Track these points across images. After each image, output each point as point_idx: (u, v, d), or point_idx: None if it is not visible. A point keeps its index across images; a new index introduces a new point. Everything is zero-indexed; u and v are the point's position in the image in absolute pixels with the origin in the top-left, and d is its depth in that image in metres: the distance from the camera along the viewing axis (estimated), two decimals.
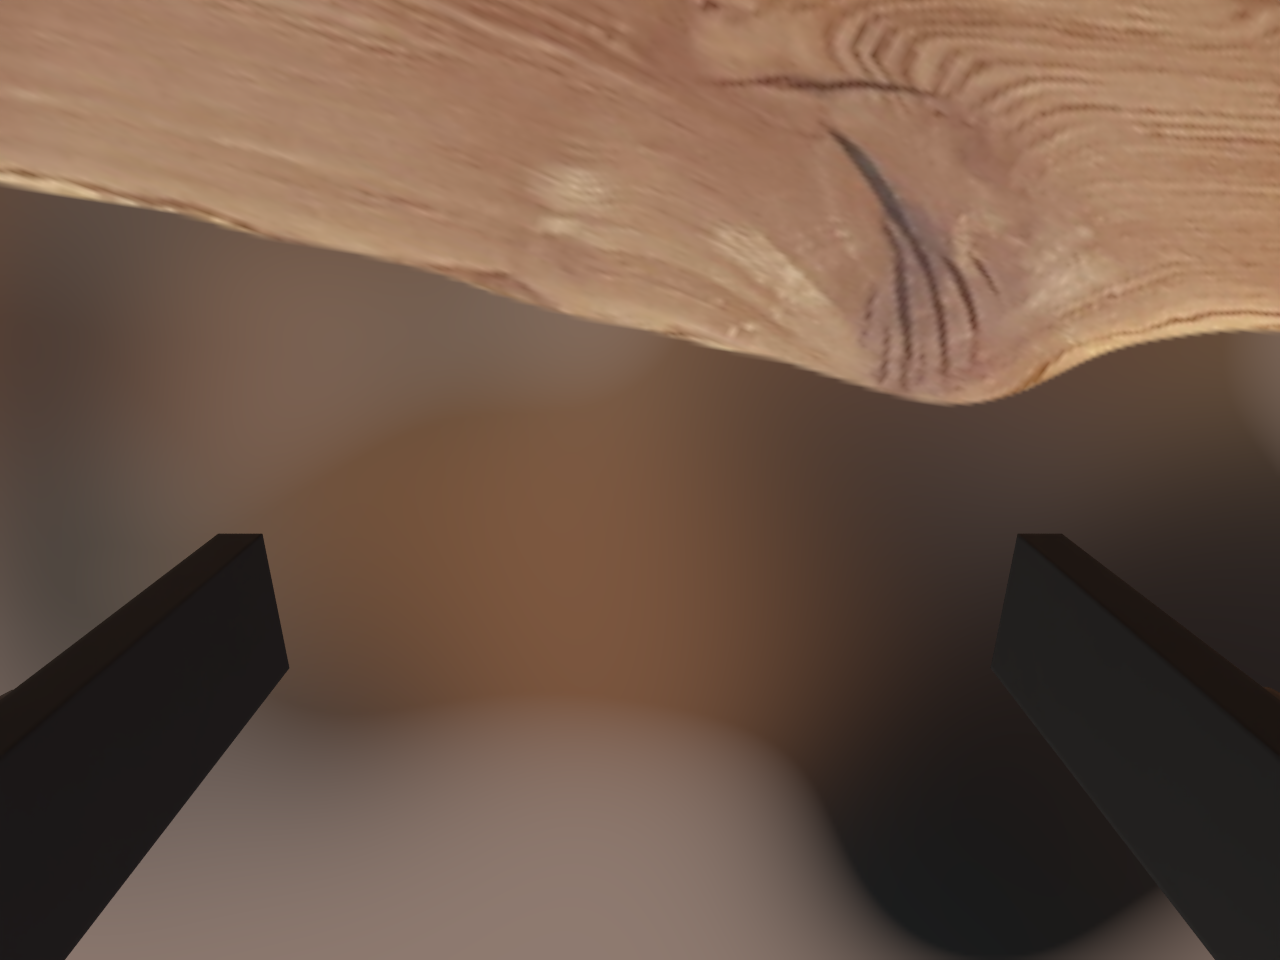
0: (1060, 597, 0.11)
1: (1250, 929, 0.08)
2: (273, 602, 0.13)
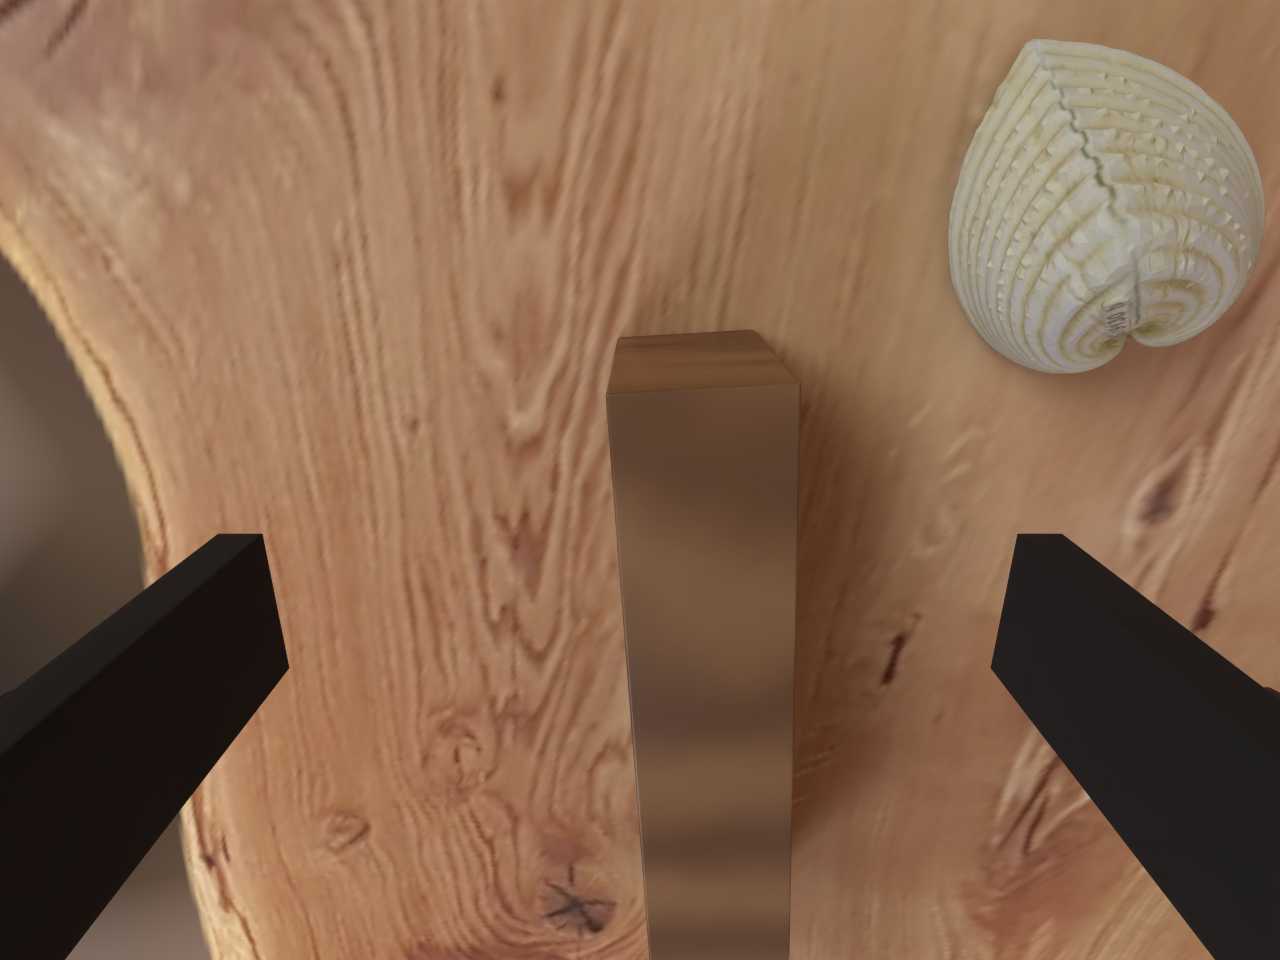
0: (1061, 597, 0.11)
1: (1250, 929, 0.08)
2: (272, 602, 0.13)
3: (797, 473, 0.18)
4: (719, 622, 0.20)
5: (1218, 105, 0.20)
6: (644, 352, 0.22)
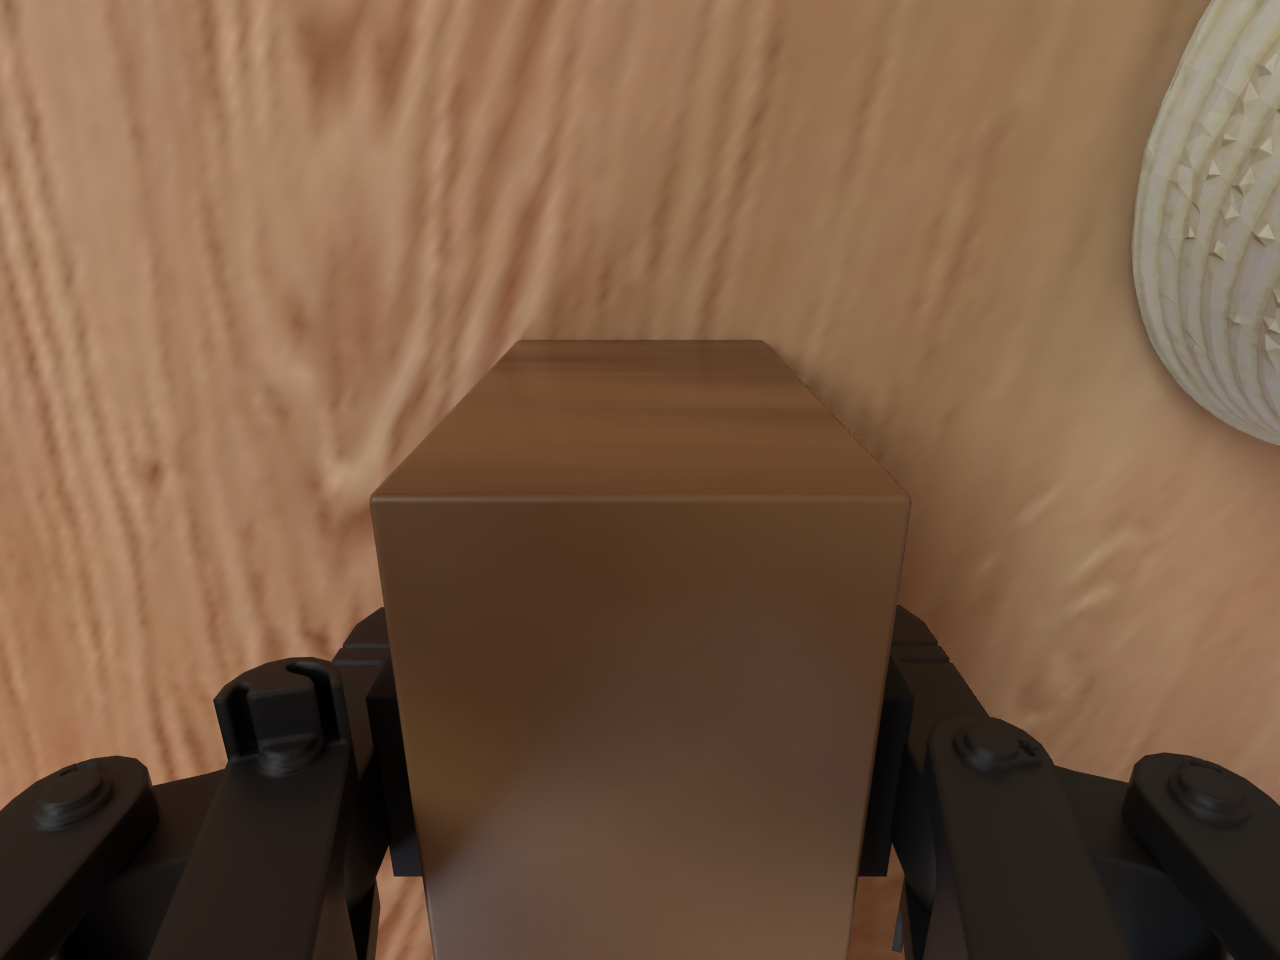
0: None
1: None
2: None
3: (877, 717, 0.07)
4: None
5: None
6: (546, 373, 0.11)
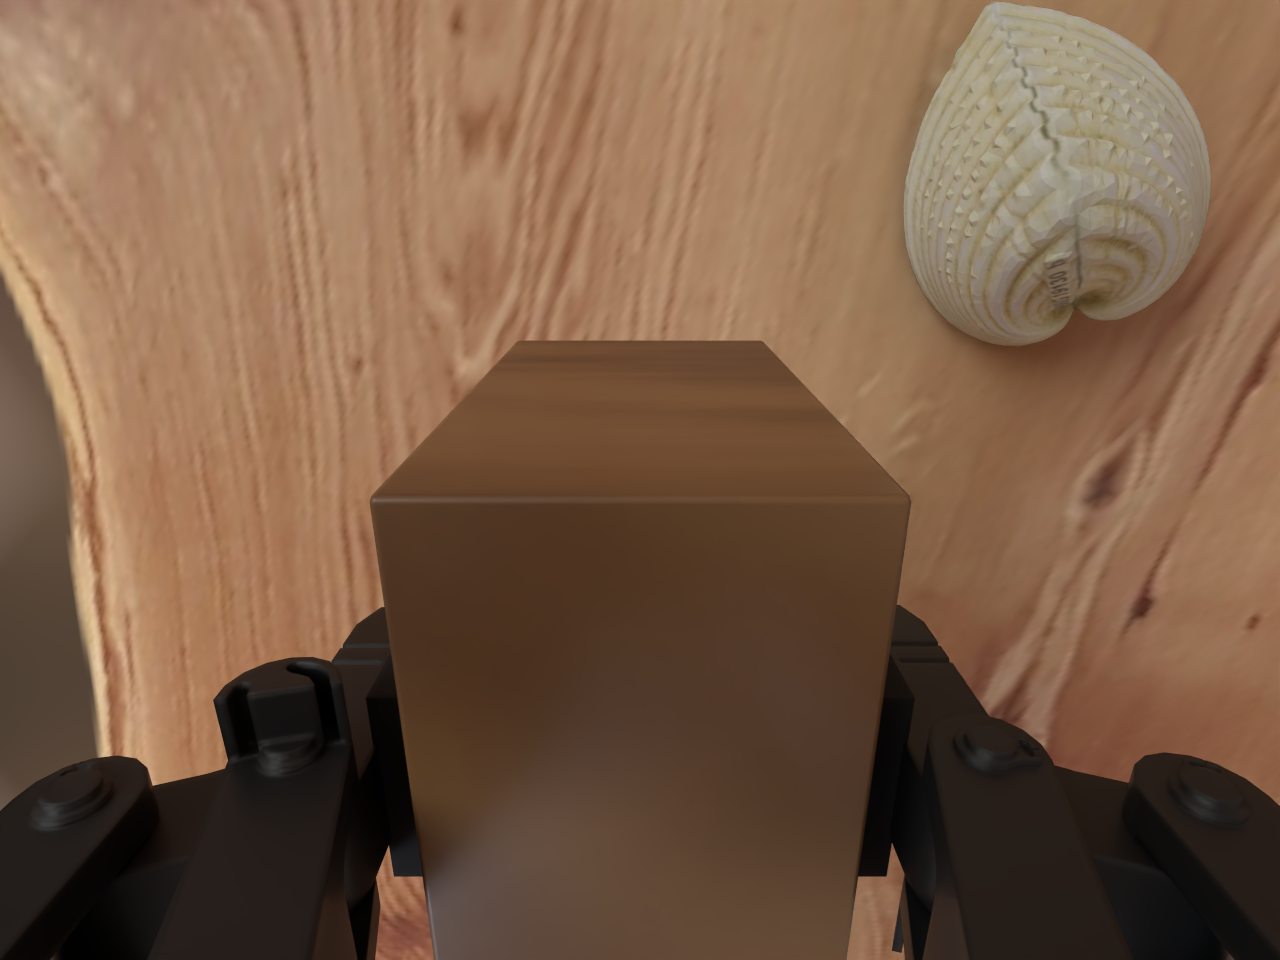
0: None
1: None
2: None
3: (877, 718, 0.07)
4: None
5: (1169, 77, 0.20)
6: (546, 373, 0.11)
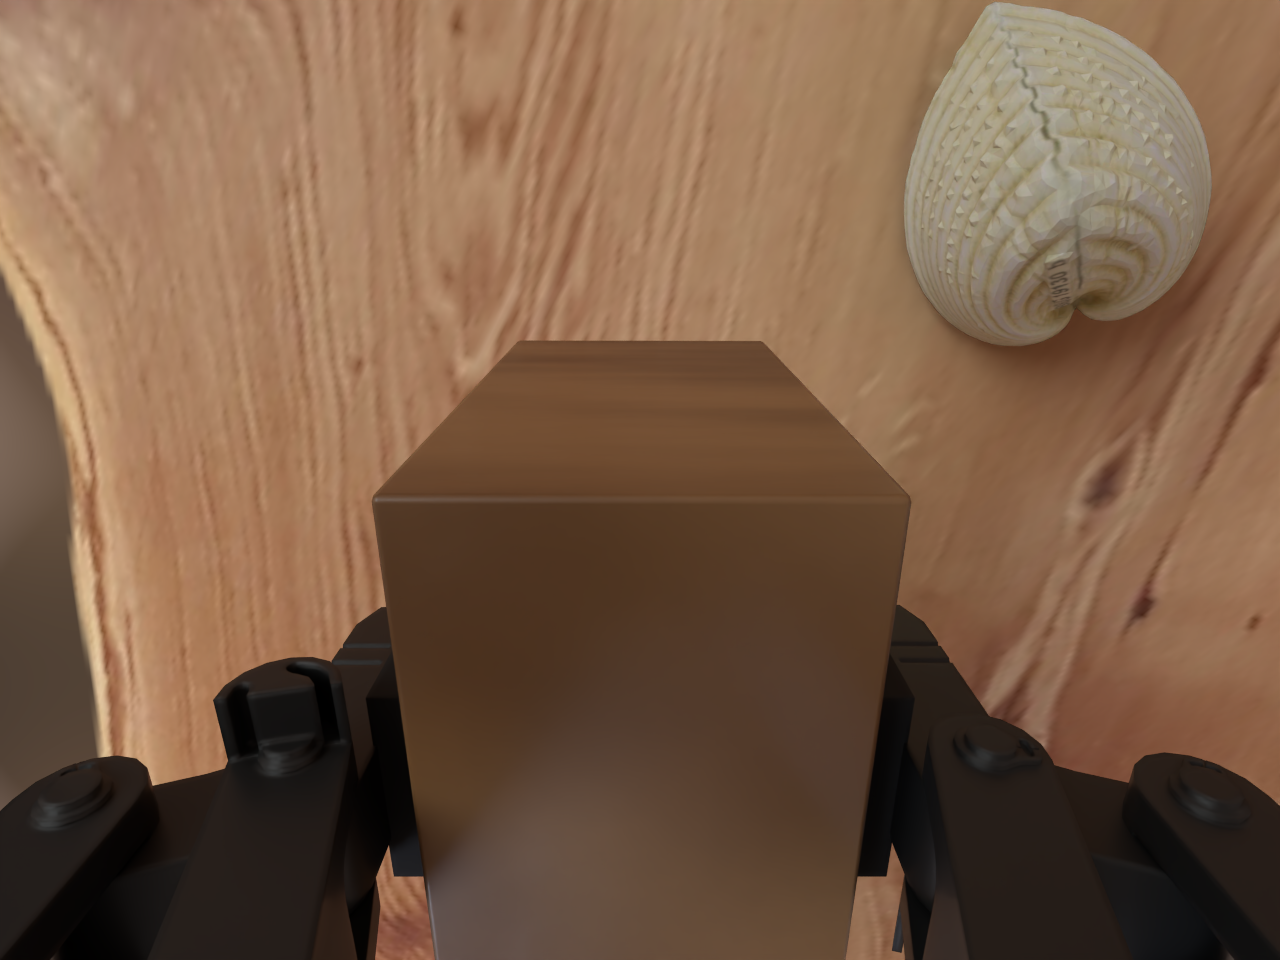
0: None
1: None
2: None
3: (877, 717, 0.07)
4: None
5: (1170, 77, 0.20)
6: (547, 373, 0.11)
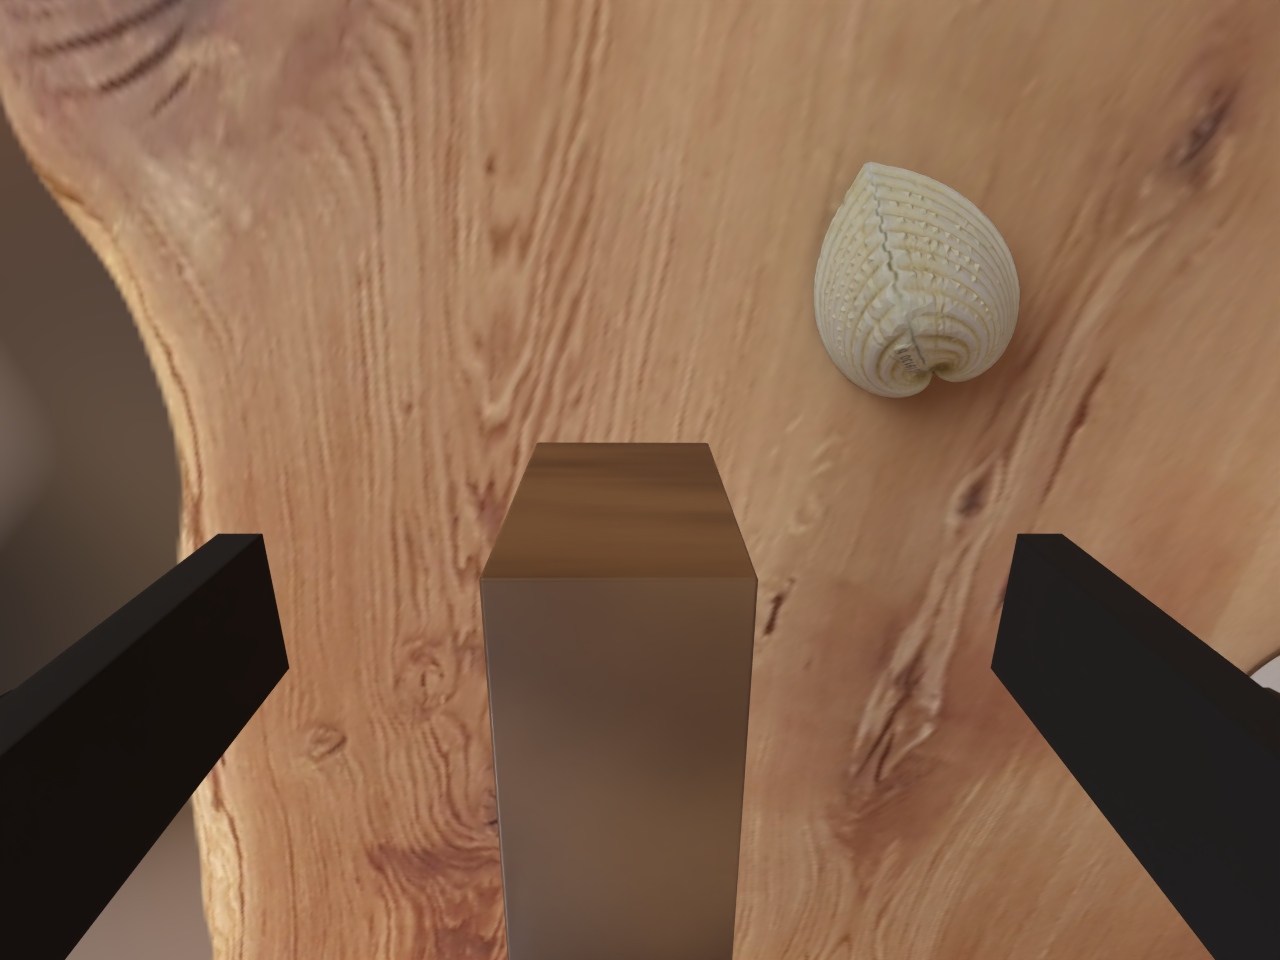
0: (1060, 597, 0.11)
1: (1250, 929, 0.08)
2: (272, 601, 0.13)
3: (747, 693, 0.13)
4: (632, 873, 0.14)
5: (986, 219, 0.29)
6: (560, 478, 0.17)
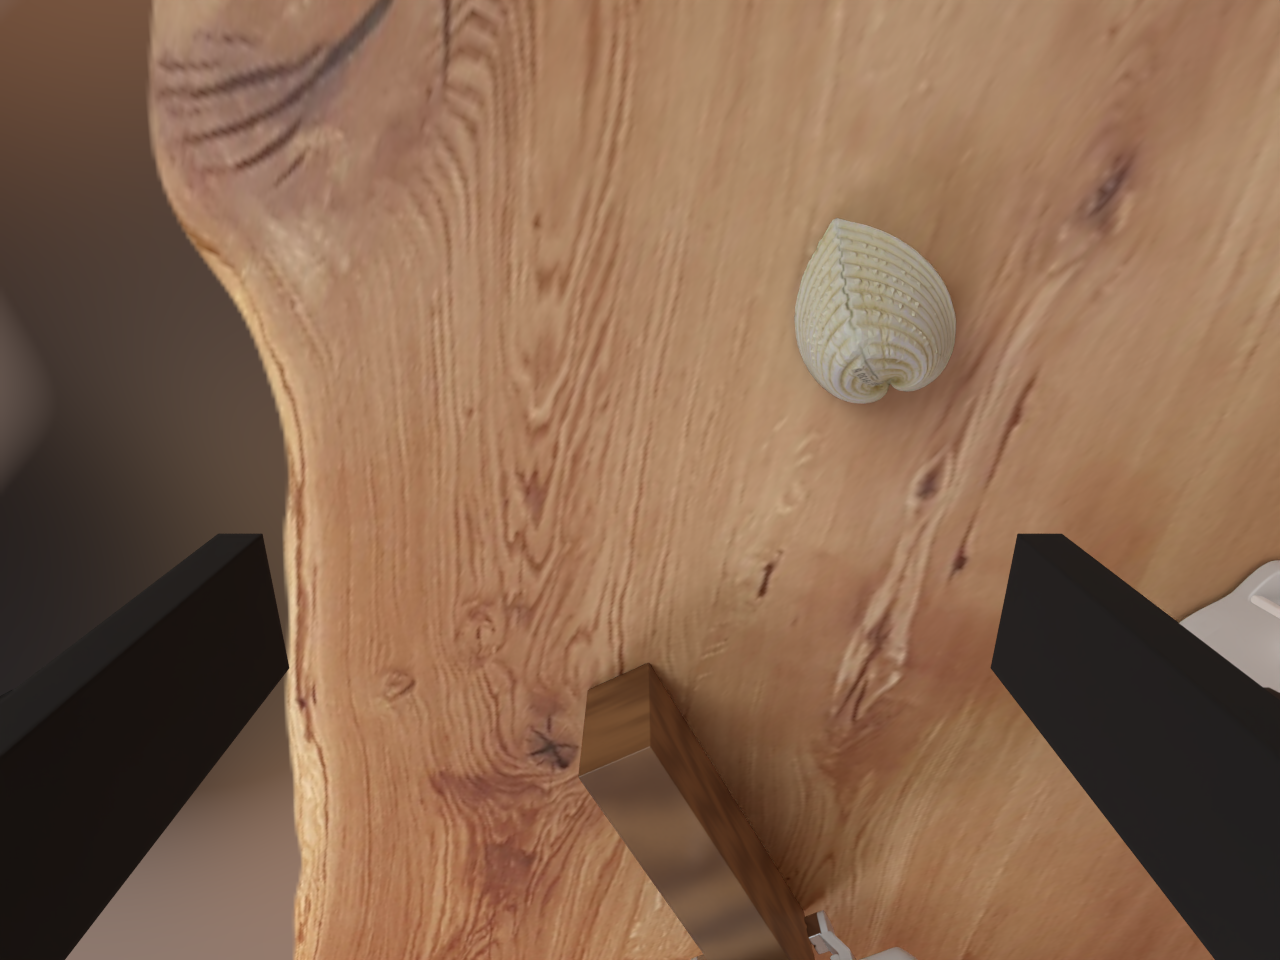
0: (1061, 596, 0.11)
1: (1250, 929, 0.08)
2: (273, 602, 0.13)
3: (668, 775, 0.41)
4: (670, 837, 0.43)
5: (928, 264, 0.36)
6: (597, 713, 0.46)
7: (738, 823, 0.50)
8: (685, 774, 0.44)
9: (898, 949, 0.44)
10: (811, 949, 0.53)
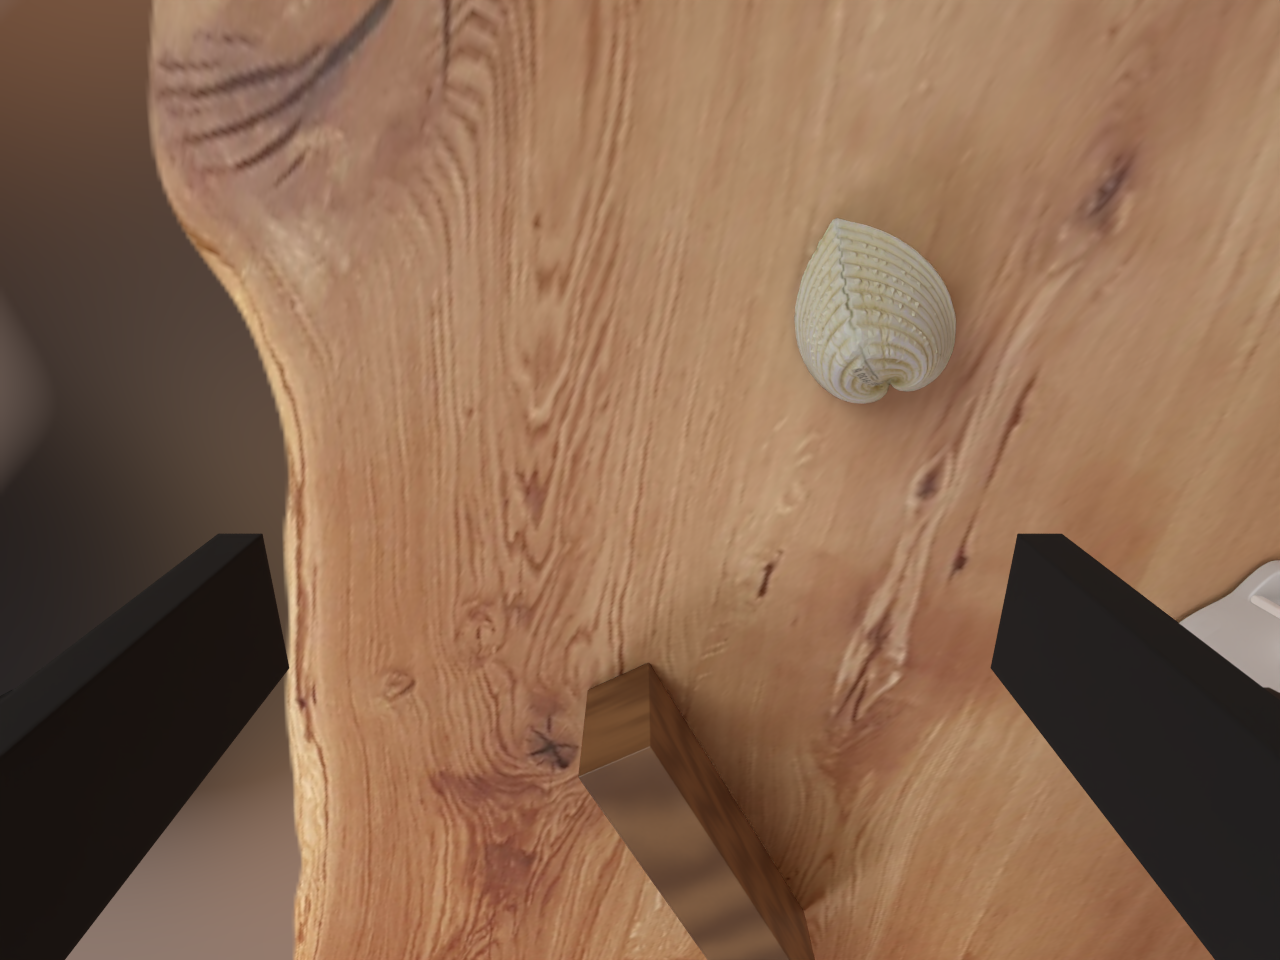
0: (1061, 596, 0.11)
1: (1250, 929, 0.08)
2: (273, 602, 0.13)
3: (668, 775, 0.41)
4: (670, 837, 0.43)
5: (928, 264, 0.36)
6: (597, 713, 0.46)
7: (738, 823, 0.50)
8: (685, 774, 0.44)
9: None
10: (811, 949, 0.53)
